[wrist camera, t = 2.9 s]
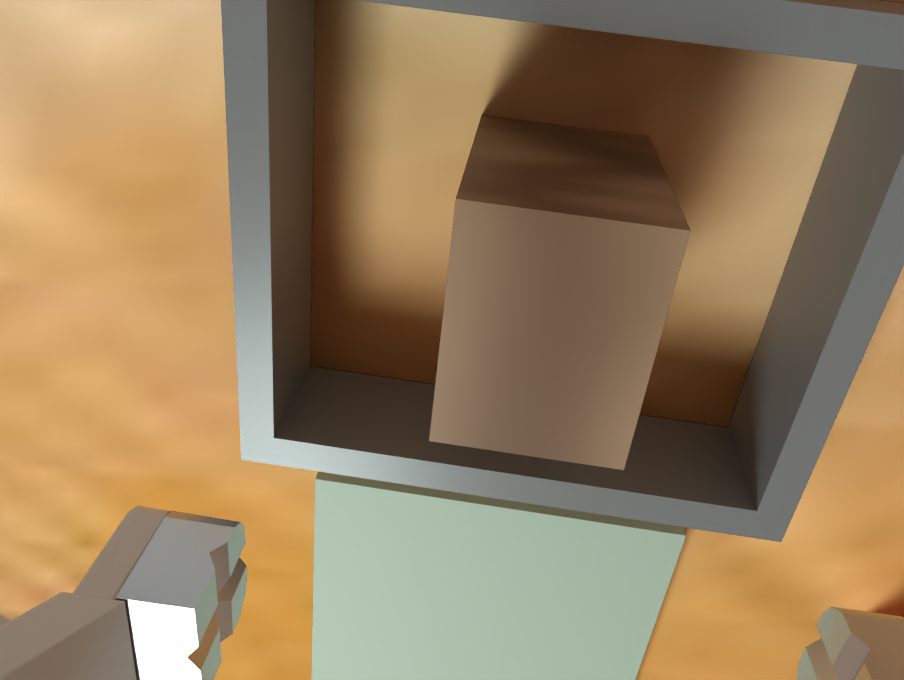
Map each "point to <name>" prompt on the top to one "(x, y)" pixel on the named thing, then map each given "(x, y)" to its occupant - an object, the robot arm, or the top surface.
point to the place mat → (479, 586)
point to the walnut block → (555, 292)
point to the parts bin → (655, 439)
